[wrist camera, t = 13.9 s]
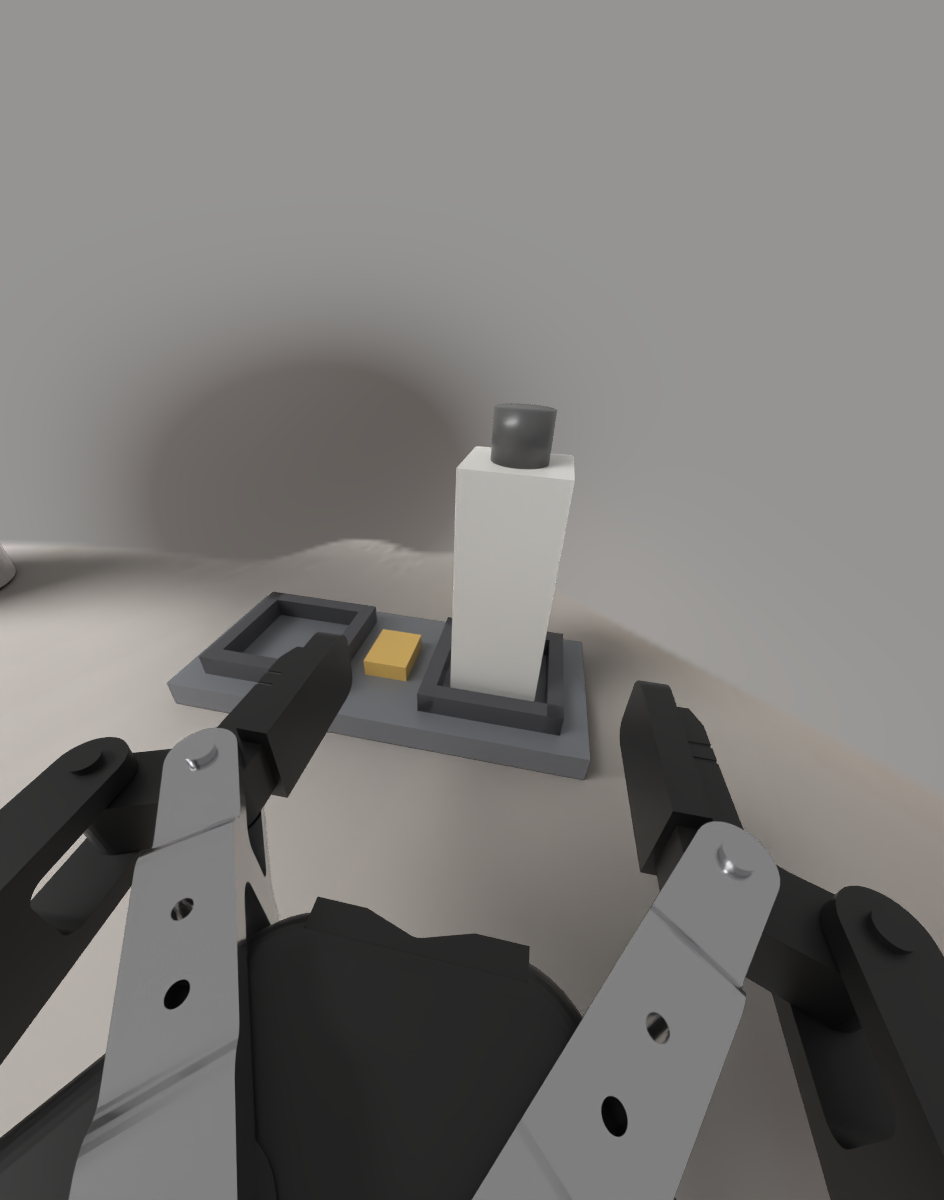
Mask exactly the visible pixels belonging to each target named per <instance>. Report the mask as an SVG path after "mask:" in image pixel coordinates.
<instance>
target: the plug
mask: <svg viewBox="0 0 944 1200" xmlns="http://www.w3.org/2000/svg"><path fill="white" fill-rule="evenodd" d="M556 414H557V410H556V409H554V408H550V407H545V406H540V405H531V404H530V405H529V404H498V405H495V406H494V417H493V432H492V445H491V448H490V447H479V446H476V447H475V448H474V449H473V450H472V451H471V453H470V454H469V455H468V456H467V457H466V458H465V459H464V461H462V463H461V464H460V465H459V466H458V467H457V468H456V501H455V503H456V504H455V537H454V571H453V607H452V642H451V677H450V688H456V689H462V690H468V691H474V692H480V693H486V694H492V695H498V696H504V697H510V698H516V699H522V700H528V701H533V702H534V699H535V694H536V689H537V683H538V678H539V672H540V667H541V661H542V656H543V650H544V645H545V640H546V634H547V629H548V623H549V618H550V612H551V607H552V601H553V596H554V591H555V585H556V580H557V574H558V568H559V563H560V558H561V552H562V547H563V541H564V536H565V530H566V525H567V520H568V514H569V509H570V503H571V498H572V492H573V487H574V481H575V478H574V458H573V455H562V454H552V453H551V447H552V441H553V434H554V427H555V421H556Z"/></svg>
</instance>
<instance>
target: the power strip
mask: <svg viewBox="0 0 944 1200" xmlns="http://www.w3.org/2000/svg"><path fill="white" fill-rule="evenodd" d="M317 632H326V633H332V634H339V635H344V636H345V637H346V638H347V642H348V648H349V655H350V662H351V669H352V686H351V690H350V693H349V695H348V697H347V699H346V700H345V702H344V704H343V706H342V707H341V709H340V711H339V712H338V714H337V716H336V717H335V719H334V721H333V722H332V724H331V726H330V727H329V729H328V731H327V732H332V733H337V734H342V735H348V736H353V737H358V738H364V739H369V740H374V741H380V742H385V743H390V744H395V745H401V746H406V747H411V748H417V749H422V750H427V751H433V752H438V753H443V754H449V755H454V756H459V757H465V758H470V759H475V760H480V761H486V762H491V763H496V764H502V765H507V766H512V767H518V768H523V769H528V770H534V771H539V772H544V773H550V774H555V775H560V776H565V777H571V778H576V779H581V780H584V778H585V775H586V772H587V769H588V766H589V763H590V749H589V735H588V721H587V707H586V694H585V680H584V666H583V652H582V642H578V641H571V640H564V639H563V634H559V633H552V632H547V634H546V640H545V645H544V650H543V656H542V661H541V667H540V672H539V678H538V683H537V689H536V694H535V699H534V702H533V701H528V700H522V699H516V698H510V697H504V696H498V695H492V694H486V693H480V692H474V691H468V690H462V689H456V688H450V677H451V642H452V618H449V617H448V619H447V621H446V622H442V621H435V620H428V619H422V618H415V617H408V616H401V615H394V614H388V613H381V612H376V607H373V606H367V605H360V604H353V603H346V602H339V601H332V600H325V599H319V598H312V597H305V596H298V595H291V594H284V593H277V592H272V593H271V594H270V595H269V596H267V597H266V598H264V599H263V600H262V601H261V602H260V603H259V604H257V605H256V606H255V607H254V608H253V609H252V610H251V611H249V612H248V613H247V614H246V615H245V616H244V617H242V618H241V619H240V620H239V621H238V622H237V623H236V624H234V625H233V626H232V627H231V628H230V629H229V630H227V631H226V632H225V633H224V634H223V635H222V636H220V637H219V638H218V639H217V640H216V641H215V642H214V643H212V644H211V645H210V646H209V647H208V648H207V649H205V650H204V651H203V652H202V653H201V654H200V655H199V656H197V657H196V658H195V659H194V660H193V661H192V662H190V663H189V664H188V665H187V666H186V667H185V668H183V669H182V670H181V671H180V672H179V673H178V674H177V675H175V676H174V677H173V678H172V679H171V680H170V681H168V682H167V685H168V687H169V689H170V691H171V693H172V696H173V698H174V700H175V702H176V703H178V704H183V705H188V706H194V707H199V708H204V709H210V710H215V711H220V712H226V713H230V712H231V711H232V710H233V709H234V708H235V707H236V706H237V705H238V703H239V702H240V701H241V700H242V699H243V698H244V697H245V696H246V694H247V693H248V692H249V691H250V690H251V689H252V688H253V687H254V685H255V684H258V681H259V680H260V679H261V678H262V676H263V675H264V674H265V673H268V670H269V669H270V667H271V666H272V665H273V664H274V663H275V662H276V661H277V660H278V658H279V657H281V656H282V655H284V654H285V653H287V652H289V651H290V650H292V649H294V648H295V647H297V646H298V647H304V646H305V645H306V644H307V642H308V641H309V640H310V639H311V638H312V636H313V635H314V634H315V633H317Z"/></svg>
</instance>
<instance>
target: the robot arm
mask: <svg viewBox="0 0 944 1200" xmlns="http://www.w3.org/2000/svg"><path fill="white" fill-rule="evenodd" d="M15 574H16V568H15V566H14V565H13V563H12V562H11V560H10V558H9V557H8V555H7V554H6V552H5V550H4V549H3V547H2V545H1V544H0V588H1V587H2V586H4V585H5V584H7V583H8V582H9V581H10V580H11V579H12V578H13V577H14V575H15ZM351 686H352V669H351V662H350V655H349V648H348V642H347V638H346V637H345V636H344V635H339V634H332V633H326V632H317V633H315V634H314V635H313V636H312V638H311V639H310V640H309V641H308V642H307V644H306V645H305V646H304V647H298V646H297V647H295V648H294V649H292V650H290V651H289V652H287V653H285V654H284V655H282V656H281V657H279V658H278V660H277V661H276V662H275V663H274V664H273V665H272V666H271V667H270V669H269V670H268V673H265V674H264V675H263V676H262V678H261V679H260V680H259V681H258V684H255V685H254V687H253V688H252V689H251V690H250V691H249V692H248V693H247V694H246V696H245V697H244V698H243V699H242V700H241V701H240V702H239V703H238V705H237V706H236V707H235V708H234V709H233V710H232V711H231V712H230V714H229V715H228V716H227V717H226V718H225V719H224V720H223V721H222V722H221V724H220V725H219V726H218V727H217V728H210V729H205V730H201V731H199V732H196V733H194V734H191V735H189V736H188V737H186V738H184V739H183V740H181V741H180V742H179V743H178V744H176V745H175V746H174V747H173V748H172V749H166V750H156V751H147V752H137V753H132V751H131V750H130V748H129V747H128V745H127V743H126V742H125V741H124V740H122V739H120V738H116V737H105V738H99V739H95V740H91V741H88V742H86V743H83V744H81V745H79V746H77V747H75V748H73V749H71V750H69V751H68V752H66V753H65V754H63V755H62V756H61V757H60V758H58V759H57V760H56V761H55V762H54V763H53V764H51V765H50V766H49V767H48V768H47V769H46V770H45V771H43V772H42V773H41V774H40V775H39V776H38V777H37V778H36V779H34V780H33V781H32V782H31V783H30V784H29V785H28V786H26V787H25V788H24V789H23V790H22V791H21V792H20V793H19V794H17V795H16V796H15V797H14V798H13V799H12V800H11V801H10V802H8V803H7V804H6V805H5V806H4V807H3V808H2V809H0V1065H1V1064H2V1062H3V1061H4V1059H5V1058H6V1057H7V1055H8V1054H9V1053H10V1051H11V1050H12V1049H13V1047H14V1046H15V1044H16V1043H17V1042H18V1040H19V1039H20V1038H21V1036H22V1035H23V1033H24V1032H25V1031H26V1029H27V1028H28V1027H29V1025H30V1024H31V1023H32V1021H33V1020H34V1018H35V1017H36V1016H37V1014H38V1013H39V1012H40V1010H41V1009H42V1007H43V1006H44V1005H45V1003H46V1002H47V1001H48V999H49V998H50V997H51V995H52V994H53V992H54V991H55V990H56V988H57V987H58V986H59V984H60V983H61V981H62V980H63V979H64V977H65V976H66V975H67V973H68V972H69V971H70V969H71V968H72V966H73V965H74V964H75V962H76V961H77V960H78V958H79V957H80V955H81V954H82V953H83V951H84V950H85V949H86V947H87V946H88V944H89V943H90V942H91V940H92V939H93V938H94V936H95V935H96V934H97V932H98V931H99V929H100V928H101V927H102V925H103V924H104V923H105V921H106V920H107V918H108V917H109V916H110V914H111V913H112V912H113V910H114V909H115V908H116V906H117V905H118V903H119V902H120V901H121V899H122V898H123V897H124V895H125V894H126V892H127V891H128V890H129V888H130V887H131V886H132V887H131V894H130V900H129V907H128V913H127V920H126V926H125V933H124V939H123V946H122V952H121V958H120V965H119V971H118V978H117V984H116V991H115V997H114V1004H113V1010H112V1017H111V1023H110V1029H109V1036H108V1042H107V1049H106V1053H105V1054H104V1055H103V1056H102V1057H100V1058H99V1059H98V1060H97V1061H95V1062H94V1063H93V1064H92V1065H90V1066H89V1067H88V1068H87V1069H85V1070H84V1071H83V1072H82V1073H80V1074H79V1075H78V1076H77V1077H75V1078H74V1079H73V1080H72V1081H71V1082H69V1083H68V1084H67V1085H66V1086H64V1087H63V1088H62V1089H61V1090H59V1091H58V1092H57V1093H56V1094H54V1095H53V1096H52V1097H51V1098H49V1099H48V1100H47V1101H46V1102H44V1103H43V1104H42V1105H41V1106H39V1107H38V1108H37V1109H36V1110H34V1111H33V1112H32V1113H31V1114H29V1115H28V1116H27V1117H26V1118H24V1119H23V1120H22V1121H21V1122H19V1123H18V1124H17V1125H16V1126H14V1127H13V1128H12V1129H11V1130H9V1131H8V1132H7V1133H6V1134H4V1135H3V1136H2V1137H1V1138H0V1200H676V1198H675V1194H676V1191H677V1189H678V1186H679V1183H680V1180H681V1178H682V1175H683V1172H684V1170H685V1167H686V1164H687V1162H688V1159H689V1156H690V1153H691V1151H692V1148H693V1145H694V1143H695V1140H696V1137H697V1135H698V1132H699V1129H700V1127H701V1124H702V1121H703V1118H704V1116H705V1113H706V1110H707V1108H708V1105H709V1102H710V1100H711V1097H712V1094H713V1091H714V1089H715V1086H716V1083H717V1081H718V1078H719V1075H720V1073H721V1070H722V1067H723V1065H724V1062H725V1059H726V1056H727V1054H728V1051H729V1048H730V1046H731V1043H732V1040H733V1038H734V1035H735V1032H736V1029H737V1027H738V1024H739V1021H740V1019H741V1016H742V1013H743V1009H744V1006H745V1001H746V994H745V992H744V991H743V990H742V986H743V982H744V979H745V977H746V978H748V979H750V980H751V981H753V982H755V983H757V984H758V985H760V986H762V987H763V988H765V989H767V990H768V991H770V992H772V995H773V998H774V1002H775V1005H776V1009H777V1013H778V1016H779V1020H780V1023H781V1027H782V1030H783V1034H784V1037H785V1041H786V1044H787V1048H788V1051H789V1055H790V1058H791V1062H792V1065H793V1069H794V1072H795V1076H796V1079H797V1083H798V1086H799V1090H800V1093H801V1097H802V1100H803V1104H804V1107H805V1111H806V1114H807V1118H808V1121H809V1125H810V1128H811V1132H812V1135H813V1139H814V1142H815V1146H816V1149H817V1153H818V1157H819V1160H820V1164H821V1167H822V1171H823V1174H824V1178H825V1181H826V1185H827V1188H828V1192H829V1195H830V1199H831V1200H944V956H943V955H942V953H941V951H940V950H939V948H938V946H937V945H936V943H935V942H934V940H933V939H932V937H931V936H930V935H929V933H928V932H927V931H926V929H925V928H924V927H923V926H922V925H921V924H920V923H919V922H918V921H917V920H916V919H915V918H914V917H913V916H912V915H911V914H910V913H909V912H908V911H906V910H905V909H904V908H903V907H901V906H900V905H899V904H897V903H896V902H894V901H893V900H891V899H890V898H888V897H886V896H885V895H883V894H881V893H879V892H877V891H874V890H872V889H869V888H866V887H861V886H848V887H844V888H843V889H841V890H840V891H839V892H838V893H837V894H832V893H830V892H828V891H826V890H824V889H822V888H820V887H818V886H816V885H814V884H812V883H810V882H808V881H806V880H803V879H801V878H799V877H797V876H795V875H793V874H791V873H789V872H787V871H786V870H784V869H782V868H780V867H779V866H777V865H776V864H775V862H774V860H773V858H772V857H771V855H770V854H769V853H768V851H767V850H766V849H765V848H764V846H763V845H762V844H761V843H760V842H759V841H758V840H757V839H755V838H754V837H753V836H752V835H750V834H749V833H747V832H746V831H744V829H743V827H742V825H741V822H740V820H739V817H738V815H737V812H736V809H735V807H734V804H733V801H732V799H731V796H730V794H729V791H728V788H727V786H726V783H725V781H724V778H723V775H722V773H721V770H720V768H719V765H718V764H717V763H716V761H717V760H716V757H715V755H714V752H713V749H712V748H710V745H711V744H710V742H709V739H708V736H707V734H706V731H705V729H704V726H703V725H702V724H701V722H700V721H699V720H698V719H697V718H696V717H695V715H694V714H693V713H692V712H691V711H690V710H689V709H688V708H681V707H677V706H676V703H675V700H674V697H673V694H672V691H671V689H670V687H669V686H668V685H665V684H658V683H652V682H645V681H636V683H635V684H634V687H633V690H632V693H631V696H630V698H629V701H628V704H627V707H626V710H625V713H624V716H623V718H622V722H621V727H620V746H621V753H622V759H623V765H624V772H625V778H626V784H627V791H628V797H629V804H630V810H631V816H632V823H633V829H634V835H635V842H636V848H637V854H638V861H639V867H640V872H642V873H647V874H652V875H657V878H658V884H659V889H660V893H659V894H658V896H657V897H656V899H655V901H654V902H653V904H652V906H651V907H650V909H649V910H648V912H647V914H646V915H645V917H644V919H643V920H642V922H641V923H640V925H639V927H638V928H637V930H636V932H635V933H634V935H633V936H632V938H631V940H630V941H629V943H628V945H627V946H626V948H625V949H624V951H623V953H622V954H621V956H620V958H619V959H618V961H617V962H616V964H615V966H614V967H613V969H612V971H611V972H610V974H609V975H608V977H607V979H606V980H605V982H604V984H603V985H602V987H601V988H600V990H599V992H598V993H597V995H596V997H595V998H594V1000H593V1001H592V1003H591V1005H590V1006H589V1008H588V1010H587V1011H586V1013H585V1014H584V1016H583V1018H582V1016H581V1015H580V1013H579V1011H578V1010H577V1008H576V1007H575V1005H574V1004H573V1003H572V1002H571V1000H570V999H569V998H568V997H567V995H566V994H565V993H564V992H563V991H562V990H561V989H560V988H559V987H558V986H557V985H556V984H555V983H554V982H553V981H552V980H551V979H550V978H549V977H548V976H546V975H545V974H544V973H543V972H541V971H540V970H539V969H537V968H536V967H534V966H533V965H531V964H529V947H530V946H526V945H522V944H517V943H513V942H509V941H505V940H500V939H496V938H492V937H487V936H483V935H479V934H464V935H452V936H441V937H429V938H416V937H413V936H411V935H409V934H408V933H406V932H404V931H403V930H401V929H400V928H398V927H396V926H395V925H393V924H392V923H390V922H388V921H387V920H385V919H384V918H382V917H380V916H379V915H377V914H376V913H374V912H372V911H371V910H369V909H368V908H364V907H360V906H356V905H351V904H347V903H343V902H338V901H334V900H330V899H326V898H321V897H317V900H316V902H315V904H314V906H313V909H312V911H311V913H304V914H300V915H296V916H292V917H289V918H286V919H284V920H281V921H279V917H278V911H277V906H276V902H275V898H274V894H273V889H272V882H271V873H270V863H269V852H268V842H267V831H266V821H265V812H264V808H263V806H264V805H265V803H266V802H267V800H268V799H269V797H270V795H271V794H272V795H276V796H281V797H286V798H288V796H289V794H290V793H291V791H292V789H293V788H294V786H295V784H296V783H297V781H298V779H299V778H300V776H301V774H302V773H303V771H304V769H305V768H306V766H307V764H308V763H309V761H310V759H311V757H312V756H313V754H314V752H315V751H316V749H317V747H318V746H319V744H320V742H321V741H322V739H323V737H324V736H325V734H326V732H327V731H328V729H329V727H330V726H331V724H332V722H333V721H334V719H335V717H336V716H337V714H338V712H339V711H340V709H341V707H342V706H343V704H344V702H345V700H346V699H347V697H348V695H349V693H350V690H351ZM82 834H84V835H85V836H86V837H87V838H86V839H85V841H84V842H83V843H82V844H81V845H80V846H79V847H78V848H77V850H76V851H75V852H74V853H73V854H72V855H71V856H70V857H69V859H68V860H67V861H66V862H65V863H64V864H63V865H62V866H61V868H60V869H59V870H58V871H57V872H56V873H55V874H54V875H53V877H52V878H51V879H50V880H49V881H48V882H47V883H46V884H45V886H44V887H43V888H42V889H41V890H40V891H39V892H38V893H37V894H36V896H35V897H34V898H33V899H32V900H31V897H32V894H33V892H34V889H35V888H36V886H37V884H38V883H39V882H40V880H41V879H42V878H43V877H44V876H45V875H46V873H47V872H48V871H49V870H50V869H51V868H52V867H53V866H54V865H55V864H56V862H57V861H58V860H59V859H60V858H61V857H62V856H63V855H64V854H65V853H66V851H67V850H68V849H69V848H70V847H71V846H72V845H73V844H74V843H75V842H76V840H77V839H78V838H79V837H80V836H81V835H82Z"/></svg>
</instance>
